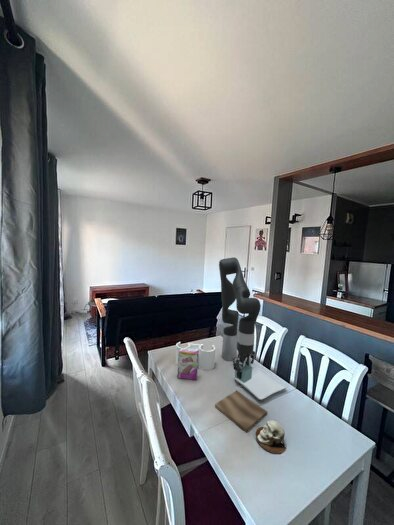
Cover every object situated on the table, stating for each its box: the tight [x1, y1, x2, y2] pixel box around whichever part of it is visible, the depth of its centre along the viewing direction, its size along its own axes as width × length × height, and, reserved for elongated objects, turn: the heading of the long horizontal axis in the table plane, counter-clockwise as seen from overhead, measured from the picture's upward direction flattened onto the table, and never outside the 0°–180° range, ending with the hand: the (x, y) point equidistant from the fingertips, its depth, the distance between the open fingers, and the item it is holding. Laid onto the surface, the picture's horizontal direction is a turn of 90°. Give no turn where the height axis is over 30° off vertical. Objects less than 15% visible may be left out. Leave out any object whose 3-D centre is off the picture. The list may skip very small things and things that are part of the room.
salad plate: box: [232, 366, 288, 401], centre depth 123 cm, size 21×21×3 cm
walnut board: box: [214, 389, 268, 433], centre depth 104 cm, size 16×18×2 cm
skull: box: [255, 419, 288, 454], centre depth 89 cm, size 12×10×10 cm
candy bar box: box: [177, 347, 199, 381], centre depth 127 cm, size 11×5×16 cm, turn 84°
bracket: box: [174, 341, 216, 371], centre depth 140 cm, size 25×10×12 cm, turn 83°
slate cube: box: [234, 362, 253, 383], centre depth 102 cm, size 6×6×6 cm
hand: (243, 375), depth 102 cm, fingers closed on slate cube, 5 cm apart
